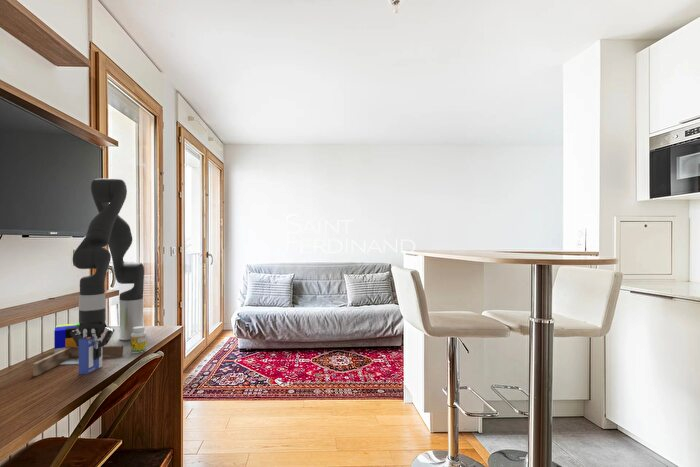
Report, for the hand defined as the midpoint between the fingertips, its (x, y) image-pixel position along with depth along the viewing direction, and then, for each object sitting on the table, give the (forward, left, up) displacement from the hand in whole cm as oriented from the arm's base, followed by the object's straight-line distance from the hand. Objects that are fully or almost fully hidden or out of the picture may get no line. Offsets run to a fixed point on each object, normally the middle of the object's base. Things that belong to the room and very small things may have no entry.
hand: (92, 359), depth 133 cm
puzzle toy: (-23, -20, -4) cm, 31 cm away
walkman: (0, -1, -4) cm, 4 cm away
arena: (-7, -7, -4) cm, 11 cm away
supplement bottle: (-21, +6, -4) cm, 22 cm away
